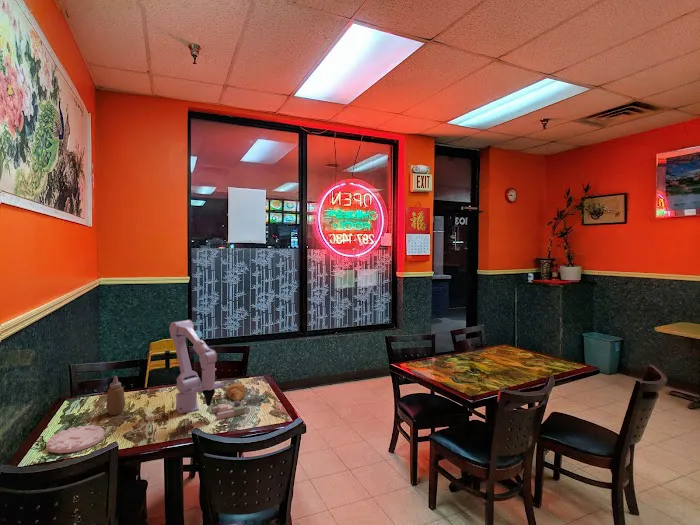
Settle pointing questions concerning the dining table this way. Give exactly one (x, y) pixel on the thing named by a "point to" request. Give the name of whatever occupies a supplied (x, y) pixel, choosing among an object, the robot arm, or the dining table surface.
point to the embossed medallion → (75, 439)
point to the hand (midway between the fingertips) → (208, 405)
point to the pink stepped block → (224, 408)
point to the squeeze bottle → (115, 398)
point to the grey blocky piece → (237, 410)
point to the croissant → (235, 391)
